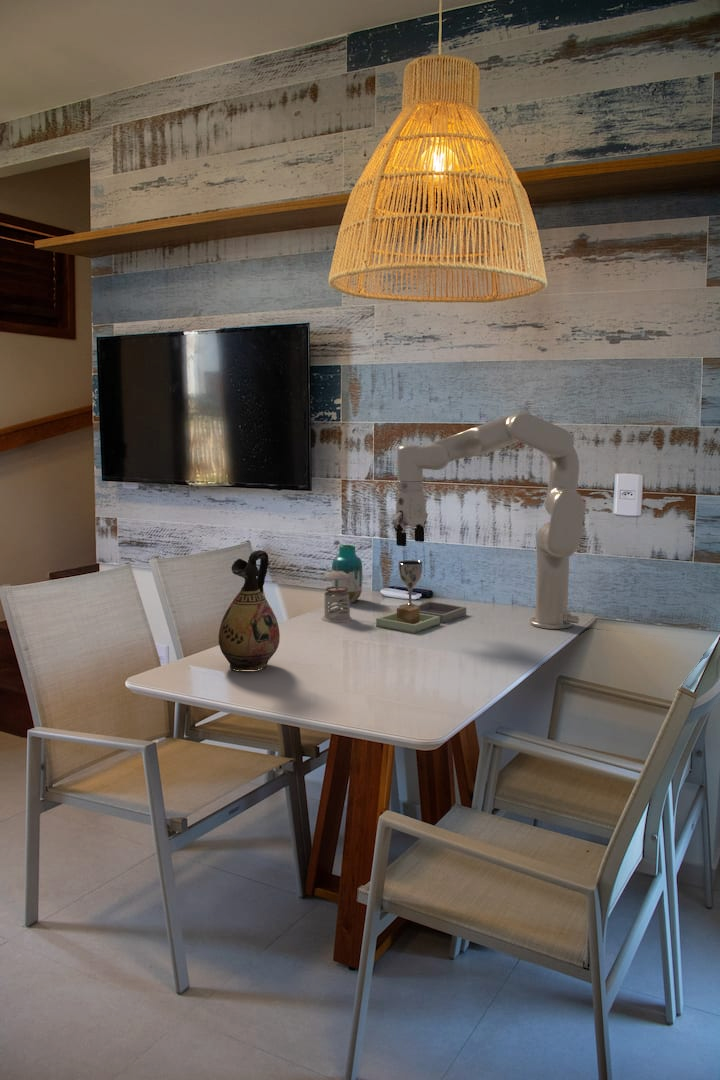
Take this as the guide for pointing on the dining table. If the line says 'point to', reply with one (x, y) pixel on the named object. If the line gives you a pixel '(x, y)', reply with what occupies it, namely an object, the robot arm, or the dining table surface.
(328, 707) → the dining table surface
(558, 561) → the robot arm
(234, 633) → the ceramic jug
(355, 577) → the vase
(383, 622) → the tray
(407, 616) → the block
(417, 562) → the wine glass
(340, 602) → the french press
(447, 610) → the brown square tray
